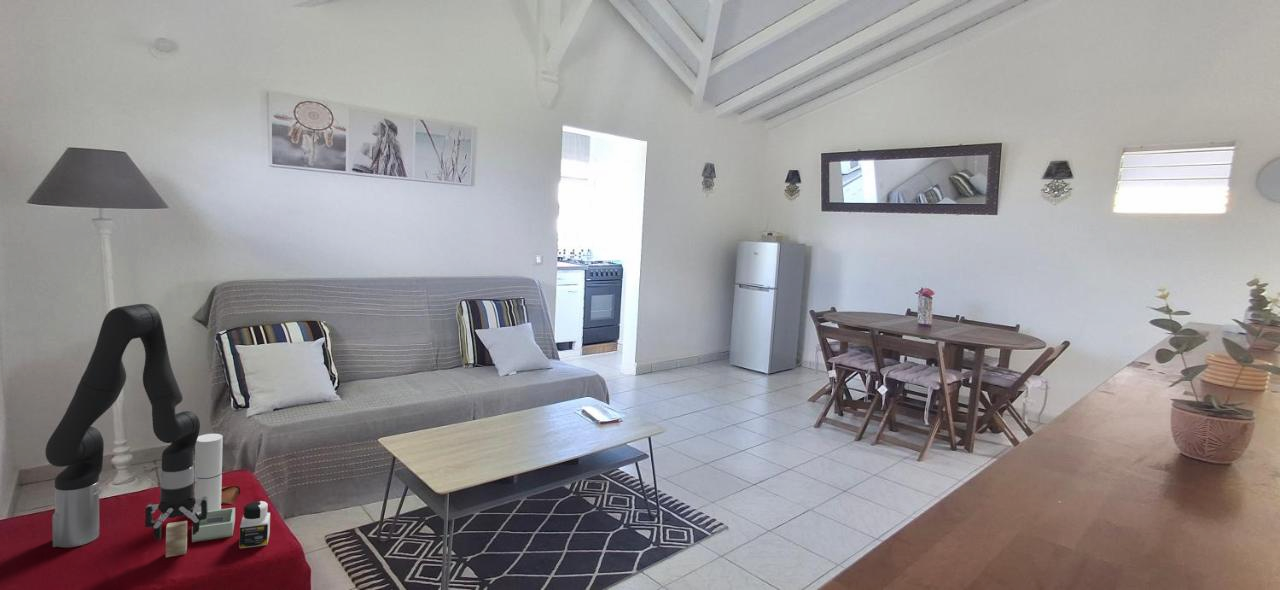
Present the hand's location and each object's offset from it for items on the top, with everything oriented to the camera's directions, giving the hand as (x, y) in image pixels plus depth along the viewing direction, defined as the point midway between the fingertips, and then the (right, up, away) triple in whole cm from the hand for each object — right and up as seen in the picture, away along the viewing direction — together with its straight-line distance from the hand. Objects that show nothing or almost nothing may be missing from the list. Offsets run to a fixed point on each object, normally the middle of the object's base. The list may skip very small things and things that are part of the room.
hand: (177, 535), depth 169 cm
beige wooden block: (-1, -5, +1) cm, 5 cm away
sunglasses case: (-14, -1, +30) cm, 33 cm away
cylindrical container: (-9, -2, +24) cm, 26 cm away
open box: (+1, -4, +13) cm, 14 cm away
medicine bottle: (+16, -6, +11) cm, 20 cm away
